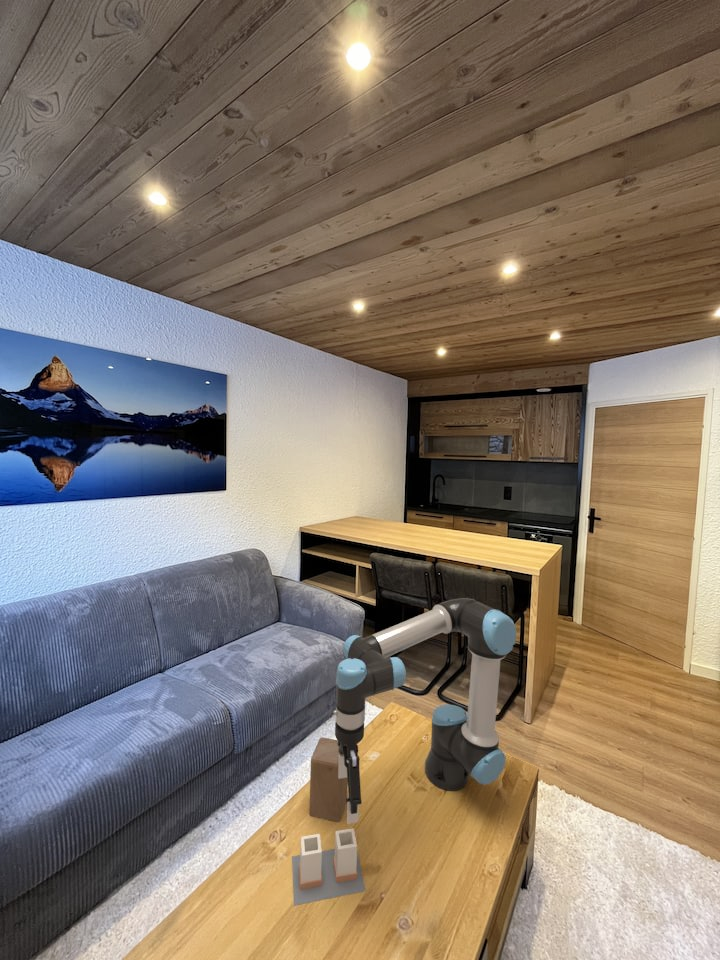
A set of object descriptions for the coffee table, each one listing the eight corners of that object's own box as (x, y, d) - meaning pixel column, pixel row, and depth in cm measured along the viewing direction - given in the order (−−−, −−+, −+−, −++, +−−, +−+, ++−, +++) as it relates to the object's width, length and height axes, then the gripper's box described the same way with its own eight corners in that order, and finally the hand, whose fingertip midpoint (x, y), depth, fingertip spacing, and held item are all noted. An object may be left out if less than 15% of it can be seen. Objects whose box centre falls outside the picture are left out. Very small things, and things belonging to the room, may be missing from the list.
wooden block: (340, 827, 119) (342, 764, 118) (308, 820, 121) (309, 758, 120) (347, 799, 129) (349, 740, 128) (318, 792, 131) (319, 735, 130)
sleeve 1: (319, 863, 107) (320, 832, 107) (321, 885, 102) (322, 853, 101) (299, 867, 106) (299, 836, 106) (300, 889, 101) (301, 856, 100)
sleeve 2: (353, 857, 109) (354, 827, 109) (357, 878, 104) (358, 846, 103) (333, 861, 108) (334, 830, 107) (336, 882, 103) (337, 850, 102)
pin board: (356, 849, 113) (356, 825, 112) (365, 896, 101) (366, 869, 101) (291, 861, 109) (292, 836, 109) (293, 911, 97) (294, 882, 97)
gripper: (329, 693, 114) (327, 763, 116) (343, 760, 90) (341, 846, 92) (354, 691, 116) (352, 759, 118) (375, 755, 92) (372, 841, 93)
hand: (347, 798), depth 105 cm, fingers open, 13 cm apart
